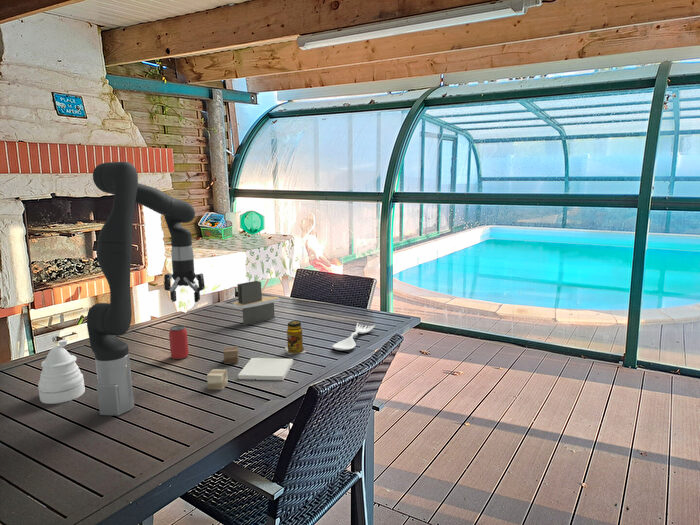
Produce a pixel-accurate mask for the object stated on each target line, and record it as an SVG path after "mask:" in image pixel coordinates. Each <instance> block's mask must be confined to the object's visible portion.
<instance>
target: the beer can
mask: <svg viewBox="0 0 700 525" xmlns="http://www.w3.org/2000/svg"><path fill="white" fill-rule="evenodd" d="M168 336H169V338H168V339H169V348H170V357H171V358H172V359H174V360H182V359H186V358H188V356H189V352H190V351H189V341H188V331H187V328H186V326H185V325H174V326H171V327H170V328H169V332H168Z"/></svg>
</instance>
